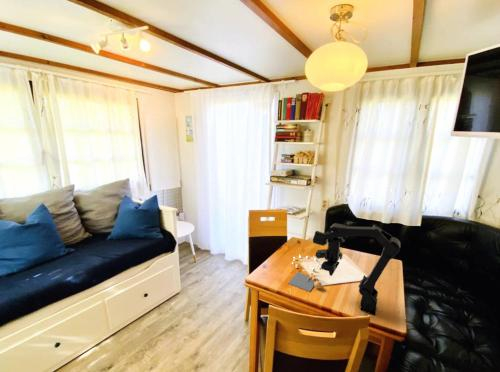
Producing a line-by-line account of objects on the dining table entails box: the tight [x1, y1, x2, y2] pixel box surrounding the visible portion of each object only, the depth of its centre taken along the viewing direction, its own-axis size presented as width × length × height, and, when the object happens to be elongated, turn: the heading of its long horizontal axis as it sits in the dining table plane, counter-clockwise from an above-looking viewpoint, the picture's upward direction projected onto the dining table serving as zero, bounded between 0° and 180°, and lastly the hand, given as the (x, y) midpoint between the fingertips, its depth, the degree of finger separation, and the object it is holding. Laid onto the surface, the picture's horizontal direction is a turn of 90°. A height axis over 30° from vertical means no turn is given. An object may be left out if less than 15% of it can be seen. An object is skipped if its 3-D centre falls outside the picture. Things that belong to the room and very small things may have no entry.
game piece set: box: [291, 254, 322, 272], centre depth 156 cm, size 19×20×4 cm
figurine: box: [308, 272, 322, 289], centre depth 134 cm, size 8×6×12 cm
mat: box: [287, 271, 319, 293], centre depth 136 cm, size 13×14×1 cm
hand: (330, 275), depth 123 cm, fingers closed
